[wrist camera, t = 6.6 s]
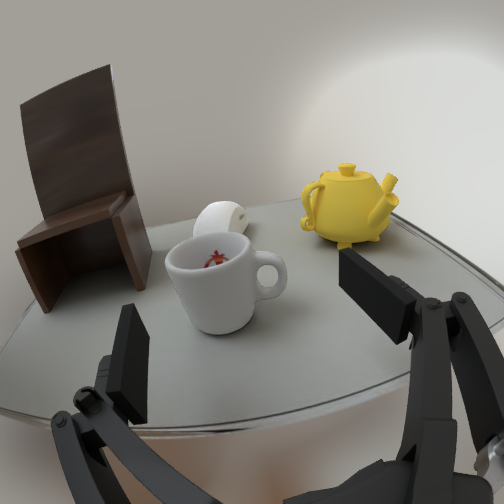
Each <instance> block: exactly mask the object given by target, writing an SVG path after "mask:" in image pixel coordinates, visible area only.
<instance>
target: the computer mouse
mask: <svg viewBox="0 0 504 504" xmlns="http://www.w3.org/2000/svg"><path fill="white" fill-rule="evenodd" d="M247 226H248V215H247V212H246V210H245V209H244V208H243V207H241V206H239V205H238V204H236V203H234V202H228V201H220V202H215V203H211V204H209V205H208V206H207V207H206V208H205V209H204V210H203V211H202V213H201V214H200V215H199V216H198V218H197V220H196V223H195V225H194V228H193V237H195V236H198V235H202V234H206V233H212V232H223V231H228V232H236V233H240V234H243V233H244V231H245V230H246V228H247Z"/></svg>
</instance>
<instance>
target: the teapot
mask: <svg viewBox="0 0 504 504" xmlns="http://www.w3.org/2000/svg"><path fill="white" fill-rule="evenodd" d="M355 166H356V165H354V164H340V165H338V168H339V170H340V171H334V172H330V171H326V172H323V173H322V174H321V175H320V180H319V181H318V182H312V183H310V184H308V185H307V186H306V187H305V188H304V190H303V192H302V202H303V206H304V208H305V211H306V214H307V216H306V217H303V218H302V219H301V222H300V225H301V228H302V229H303V230H305V231H312V230H315V231H316V232H317V233H318V234H319V236H320V237H323V238H326V239H328V240H332V241H337V242H338V244H337V249H338V250H340V249H343V248H347V247H350V248H351V249H352V243H355V242H363V241H372V242H376V241H379V240H380V237H379V235H380V234H381V233H382V232H383V231H384V230H385V229H386V228H387V226H388V225H389V222H390V213H391V212H392V211H393V209H394V208H395V207H396V206H397V205H398V203H399V200H398V198H397V196H396V195H395V194H393V193H392V192H391V191H392V190H393V188H394V186H395V184H396V183H397V181H398V179H397V178H396V177H395V176H393V175H392V174H389V173H387V175H386V177H385V178H384V180H383V182H382V184H381V185H380V186H379V184H378V182H377V181H376V179H375V178H374V177H373V175H371V174H370V173H367V172H361V171H355ZM313 189H314V191H313V193H312V196H311V198H310V193H311V191H312V190H313ZM307 220H308V225H306V222H307Z"/></svg>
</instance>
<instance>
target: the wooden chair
mask: <svg viewBox="0 0 504 504" xmlns="http://www.w3.org/2000/svg"><path fill="white" fill-rule="evenodd" d="M20 109H21V118H22V125H23V133H24V140H25V145H26V151H27V156H28V161H29V166H30V170H31V175H32V179H33V183H34V186H35V190H36V194H37V197H38V201H39V205H40V208H41V211H42V214H43V217H44V221H42V222H41V223H40V224H38V225H37V226H36V227H34V228H33V229H32V230H31V231H29V232H28V233H27V234H26V235H24V236H23V237H22V238H21V239H20V240H18V241H17V243H18V246H19V248H18V249H17V250H16V251H15V253H16V255H17V258H18V260H19V263H20V265H21V267H22V270H23V272H24V274H25V276H26V279H27V280H28V283H29V285H30V287H31V289H32V291H33V293H34V295H35V297H36V299H37V301H38V303H39V304H40V306H41V308H42V310H43V312H44V313H47V312H50V310H51V308H52V306H53V304H54V303H55V301H56V299H57V298H58V296H59V294H60V292H61V291H62V289H63V288H64V286H65V284H66V283H67V281H68V279H69V278H70V276H71V275H75V274H78V273H82V272H85V271H89V270H93V269H96V268H100V267H104V266H107V265H111V264H115V263H118V262H122V261H126V263H127V266H128V268H129V271H130V274H131V276H132V279H133V281H134V284H135V286H136V289H137V291H140V290H144V289H145V287H146V281H147V275H148V270H149V265H150V259H151V254H152V249H151V246H150V243H149V239H148V236H147V233H146V230H145V226H144V223H143V219H142V216H141V213H140V209H139V205H138V201H137V198H136V194H135V190H134V186H133V182H132V177H131V173H130V169H129V165H128V160H127V156H126V151H125V146H124V142H123V136H122V131H121V126H120V121H119V114H118V108H117V102H116V96H115V89H114V82H113V73H112V66H111V65H110V64H109V65H106V66H103V67H100V68H97V69H95V70H92V71H90V72H87V73H85V74H82V75H79V76H77V77H75V78H72V79H70V80H68V81H65V82H63V83H61V84H59V85H57V86H55V87H53V88H51V89H49V90H47V91H45V92H43V93H41V94H39V95H37V96H35V97H33V98H31V99H30V100H28V101H26V102H24V103H23V104H21V105H20Z"/></svg>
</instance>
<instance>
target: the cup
mask: <svg viewBox="0 0 504 504" xmlns="http://www.w3.org/2000/svg"><path fill="white" fill-rule="evenodd" d="M264 265H272V266H274V267H275V268H276V269H277V271H278V281H277V283H276V284H275V285H274V286H273V287H264V286H262V285H261V284H260V283H259V282H258V279H257V271H258V269H259V268H260V267H262V266H264ZM165 266H166V269H167V271H168V273H169V276H170V278H171V280H172V282H173V284H174V287H175V289H176V291H177V293H178V295H179V297H180V299H181V301H182V303H183V305H184V307H185V310H186V312H187V314H188V315H189V317H190V319H191V321H192V322H193V324H194V325H195V326H196V327H197V328H198V329H200V330H201V331H203V332H206V333H209V334H215V335H220V334H227V333H231V332H234V331H236V330H238V329H240V328H242V327H243V326H244V325H245V324H247V323H248V321H249V320H250V319H251V317H252V315H253V312H254V307H255V303H256V302H257V301H259V300H265V299H271V298H275V297H277V296H279V295H280V294H281V293H282V292H283V291H284V289H285V287H286V284H287V269H286V265H285V262H284V261H283V259H282V258H281V257H280V256H278V255H277V254H275V253H271V252H263V251H254V250H253V249H252V244H251V241H250V240H249V239H248V237H246V236H245V235H243V234H240V233H236V232H228V231H223V232H212V233H206V234H202V235H198V236H195V237H192V238H190V239H187V240H185V241H183V242H181V243H179V244H178V245H176V246H175V247H174V248H172V249H171V250H170V251H169V253H168V254H167V256H166V258H165Z"/></svg>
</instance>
